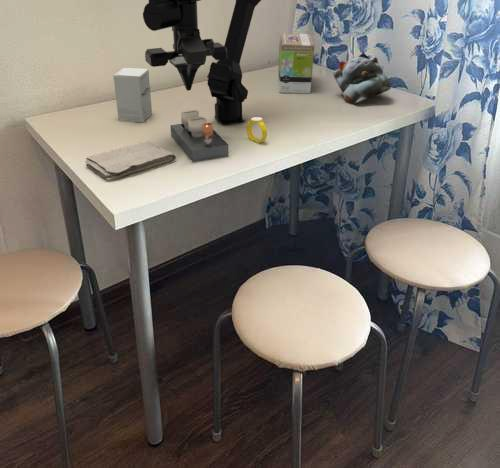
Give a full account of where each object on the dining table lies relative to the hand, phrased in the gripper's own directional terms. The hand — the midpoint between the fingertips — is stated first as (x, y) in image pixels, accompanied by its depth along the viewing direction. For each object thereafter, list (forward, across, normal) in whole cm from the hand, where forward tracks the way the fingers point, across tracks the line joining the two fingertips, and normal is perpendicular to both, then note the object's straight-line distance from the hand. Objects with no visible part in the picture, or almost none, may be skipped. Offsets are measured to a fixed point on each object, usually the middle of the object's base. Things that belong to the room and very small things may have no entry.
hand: (188, 90), depth 141 cm
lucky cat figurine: (+12, +56, +9) cm, 58 cm away
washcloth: (+13, -18, -9) cm, 24 cm away
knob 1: (+11, 0, 0) cm, 11 cm away
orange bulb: (+9, 0, -13) cm, 16 cm away
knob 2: (+11, 0, -5) cm, 12 cm away
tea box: (+12, +44, +28) cm, 53 cm away
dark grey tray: (+12, 0, -6) cm, 14 cm away
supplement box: (+12, -9, +20) cm, 25 cm away
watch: (+12, +15, -8) cm, 21 cm away
